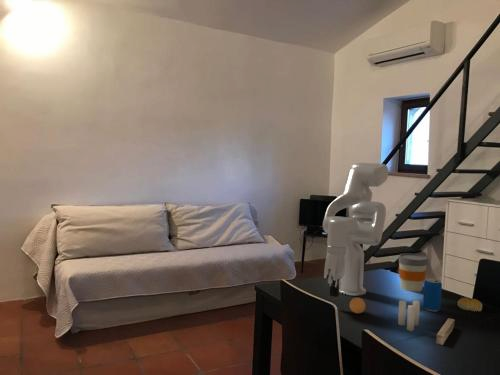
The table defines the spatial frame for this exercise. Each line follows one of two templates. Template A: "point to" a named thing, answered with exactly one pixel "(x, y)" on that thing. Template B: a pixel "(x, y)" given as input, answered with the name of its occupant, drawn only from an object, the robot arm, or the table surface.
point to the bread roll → (470, 304)
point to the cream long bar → (445, 331)
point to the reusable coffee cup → (412, 271)
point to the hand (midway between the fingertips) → (334, 295)
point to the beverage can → (432, 294)
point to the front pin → (402, 312)
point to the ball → (357, 305)
